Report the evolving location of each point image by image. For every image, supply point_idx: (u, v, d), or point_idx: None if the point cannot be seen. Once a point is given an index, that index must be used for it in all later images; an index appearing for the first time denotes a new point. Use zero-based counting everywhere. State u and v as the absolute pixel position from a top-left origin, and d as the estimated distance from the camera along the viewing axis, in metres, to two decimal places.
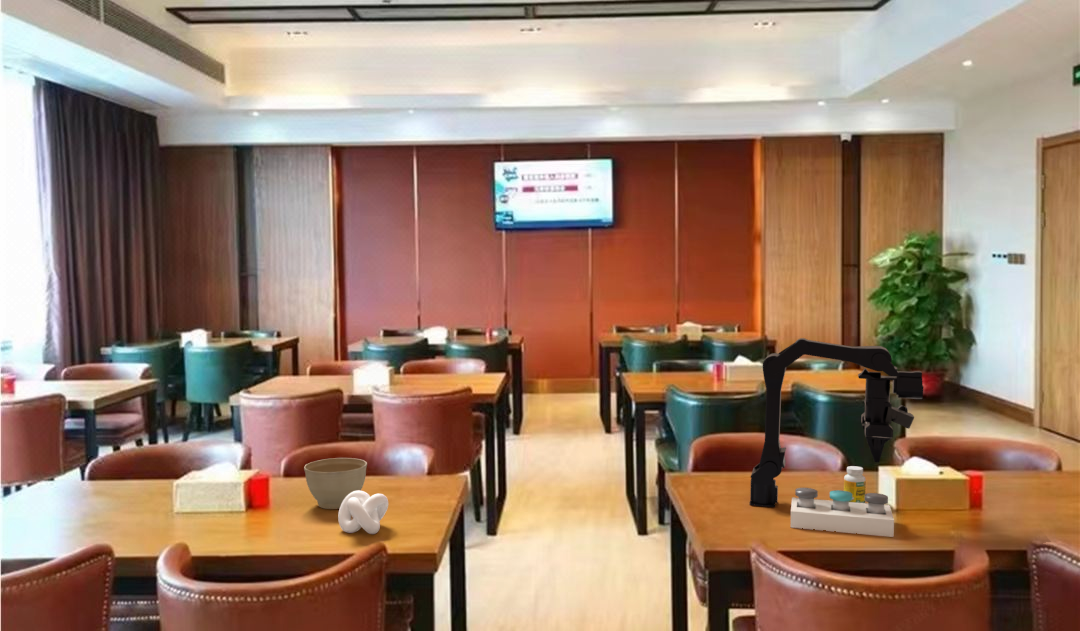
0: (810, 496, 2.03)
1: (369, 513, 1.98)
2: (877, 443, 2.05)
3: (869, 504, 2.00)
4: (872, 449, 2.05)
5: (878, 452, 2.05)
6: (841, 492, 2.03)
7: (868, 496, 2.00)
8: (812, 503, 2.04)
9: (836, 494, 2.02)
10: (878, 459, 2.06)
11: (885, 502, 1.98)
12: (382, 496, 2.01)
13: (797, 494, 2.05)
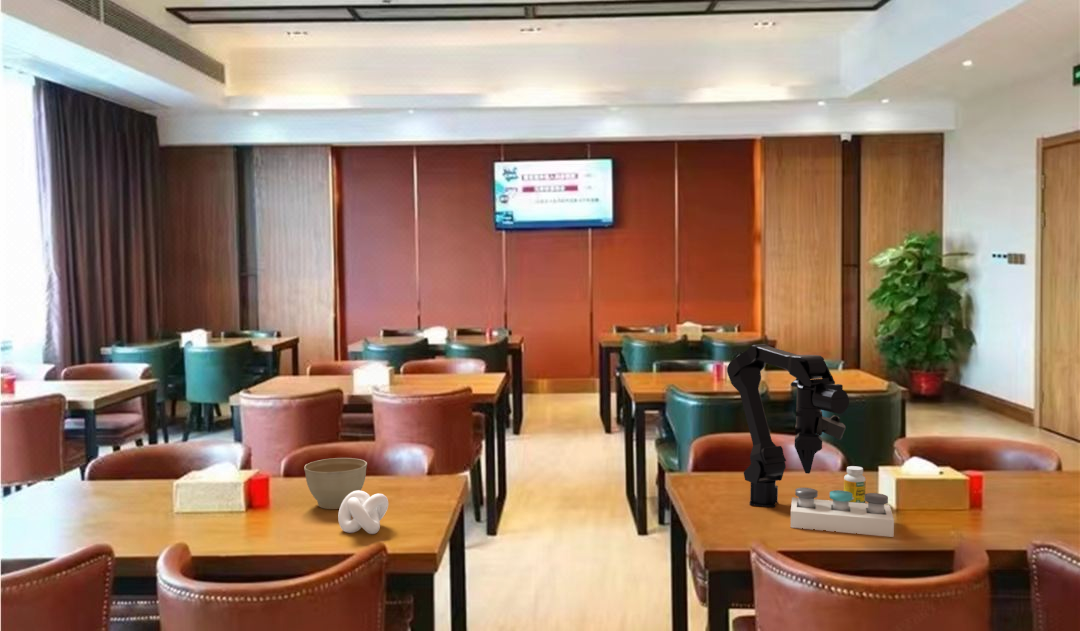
0: (810, 496, 2.03)
1: (369, 513, 1.98)
2: (807, 454, 2.00)
3: (869, 504, 2.00)
4: (802, 460, 2.00)
5: (808, 463, 2.00)
6: (841, 492, 2.03)
7: (868, 496, 2.00)
8: (812, 503, 2.04)
9: (836, 494, 2.02)
10: (809, 470, 2.01)
11: (885, 502, 1.98)
12: (382, 496, 2.01)
13: (797, 494, 2.05)
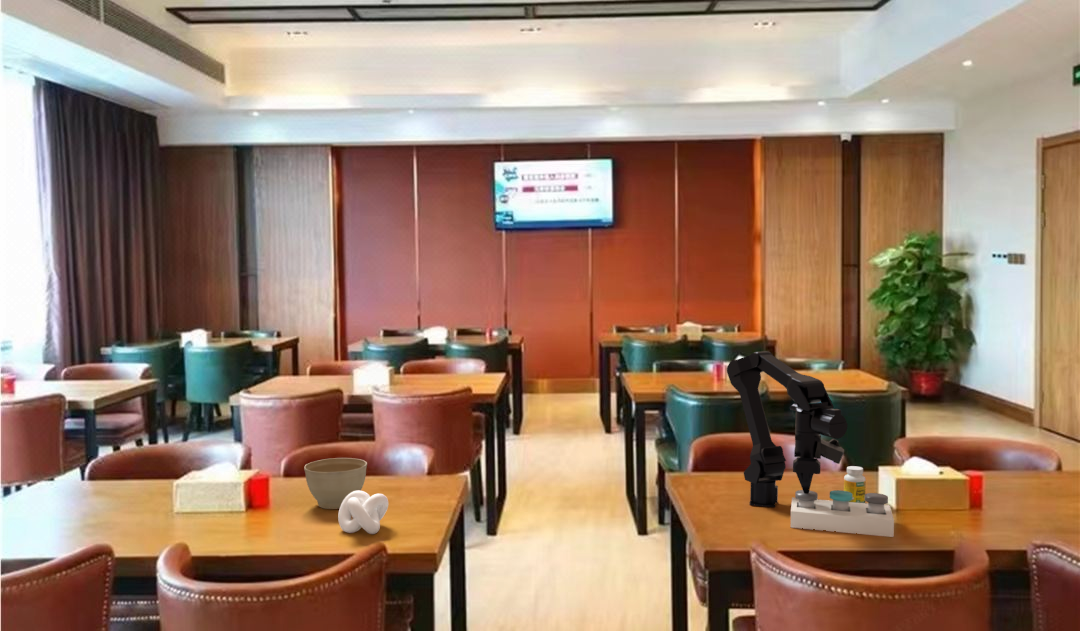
0: (810, 498, 2.03)
1: (369, 513, 1.98)
2: (806, 474, 2.04)
3: (869, 504, 2.00)
4: (801, 480, 2.04)
5: (807, 483, 2.04)
6: (841, 492, 2.03)
7: (868, 496, 2.00)
8: (812, 505, 2.04)
9: (836, 494, 2.02)
10: (807, 490, 2.05)
11: (885, 502, 1.98)
12: (382, 496, 2.01)
13: (797, 496, 2.05)
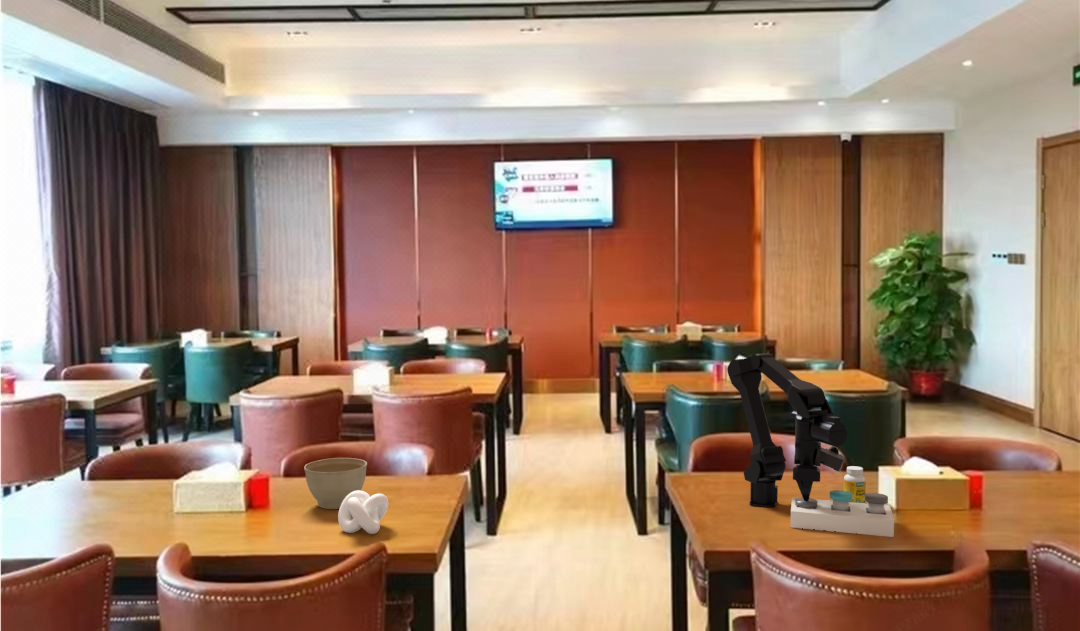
0: (810, 506, 2.03)
1: (369, 513, 1.98)
2: (806, 482, 2.04)
3: (869, 504, 2.00)
4: (801, 488, 2.04)
5: (807, 491, 2.04)
6: (841, 492, 2.03)
7: (868, 496, 2.00)
8: None
9: (836, 494, 2.02)
10: (807, 498, 2.05)
11: (885, 502, 1.98)
12: (382, 496, 2.01)
13: (797, 504, 2.05)
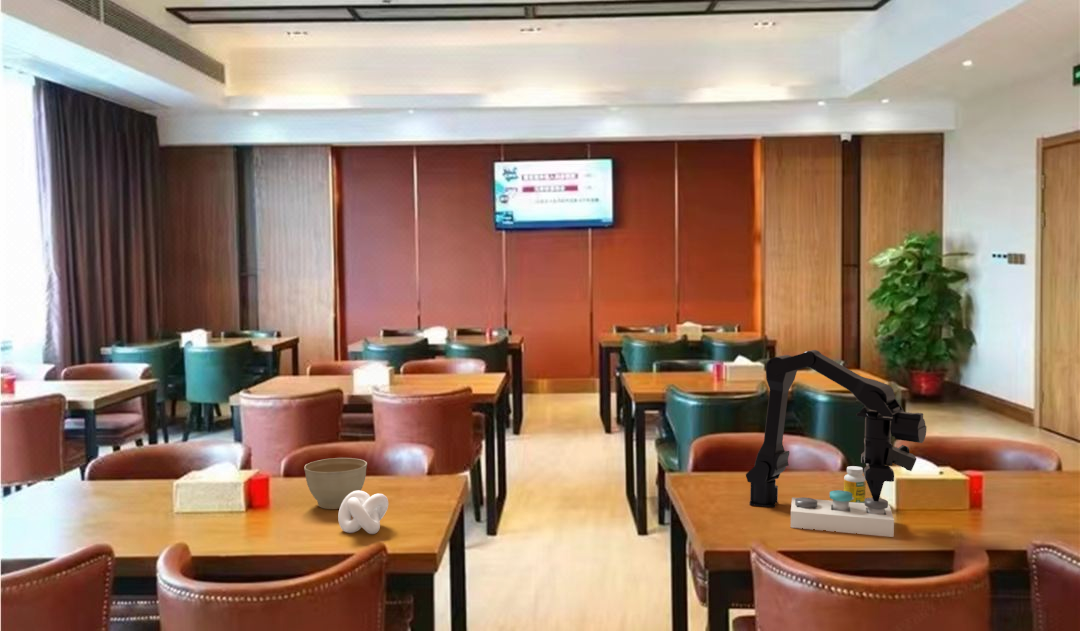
0: (810, 506, 2.03)
1: (369, 513, 1.98)
2: (876, 482, 1.99)
3: (869, 509, 2.00)
4: (871, 488, 1.99)
5: (877, 491, 1.99)
6: (841, 492, 2.03)
7: (868, 501, 2.00)
8: None
9: (836, 494, 2.02)
10: (877, 498, 2.00)
11: (885, 507, 1.98)
12: (382, 496, 2.01)
13: (797, 504, 2.05)
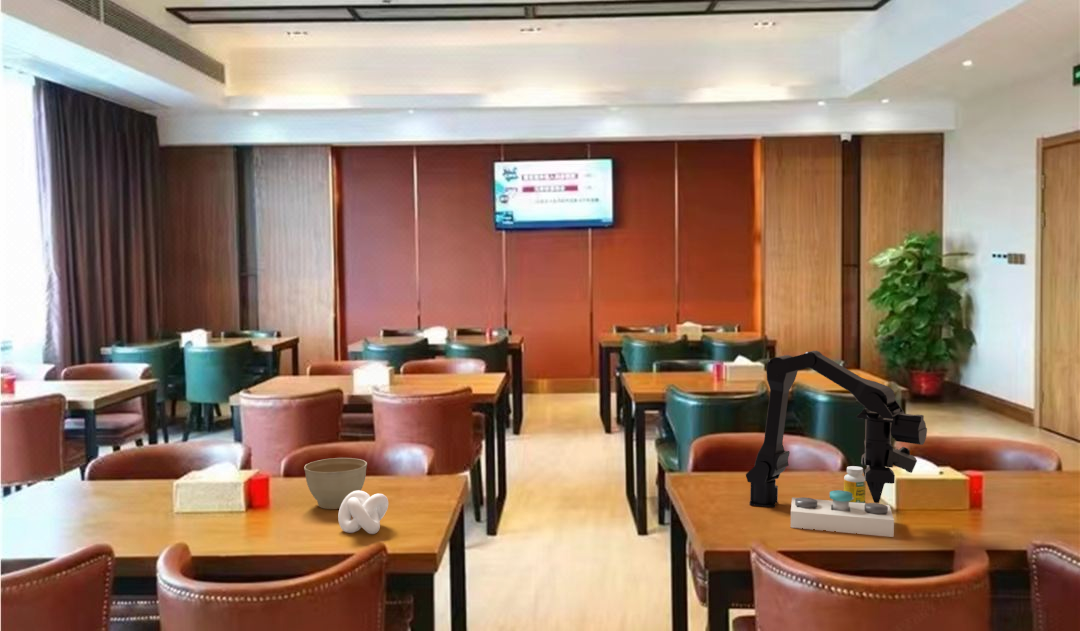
0: (810, 506, 2.03)
1: (369, 513, 1.98)
2: (877, 483, 1.99)
3: None
4: (871, 489, 1.99)
5: (878, 493, 1.99)
6: (841, 492, 2.03)
7: (868, 506, 2.00)
8: None
9: (836, 494, 2.02)
10: (878, 500, 2.00)
11: (885, 512, 1.98)
12: (382, 496, 2.01)
13: (797, 504, 2.05)
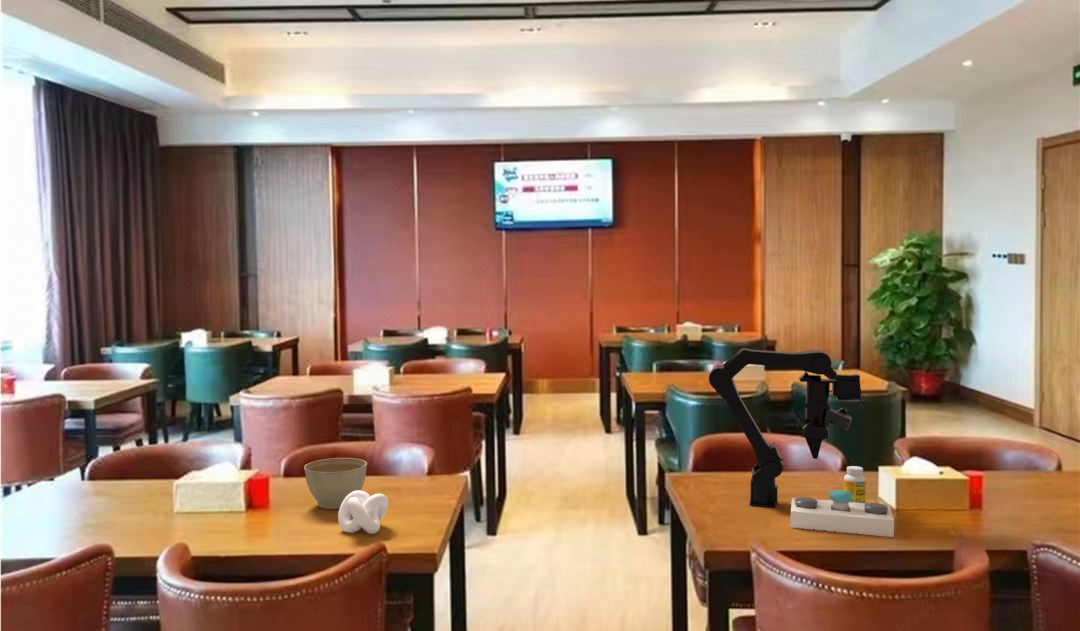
0: (810, 506, 2.03)
1: (369, 513, 1.98)
2: (815, 440, 2.15)
3: None
4: (810, 446, 2.15)
5: (816, 449, 2.15)
6: (841, 492, 2.03)
7: (868, 506, 2.00)
8: None
9: (836, 494, 2.02)
10: (816, 456, 2.16)
11: (885, 512, 1.98)
12: (382, 496, 2.01)
13: (797, 504, 2.05)
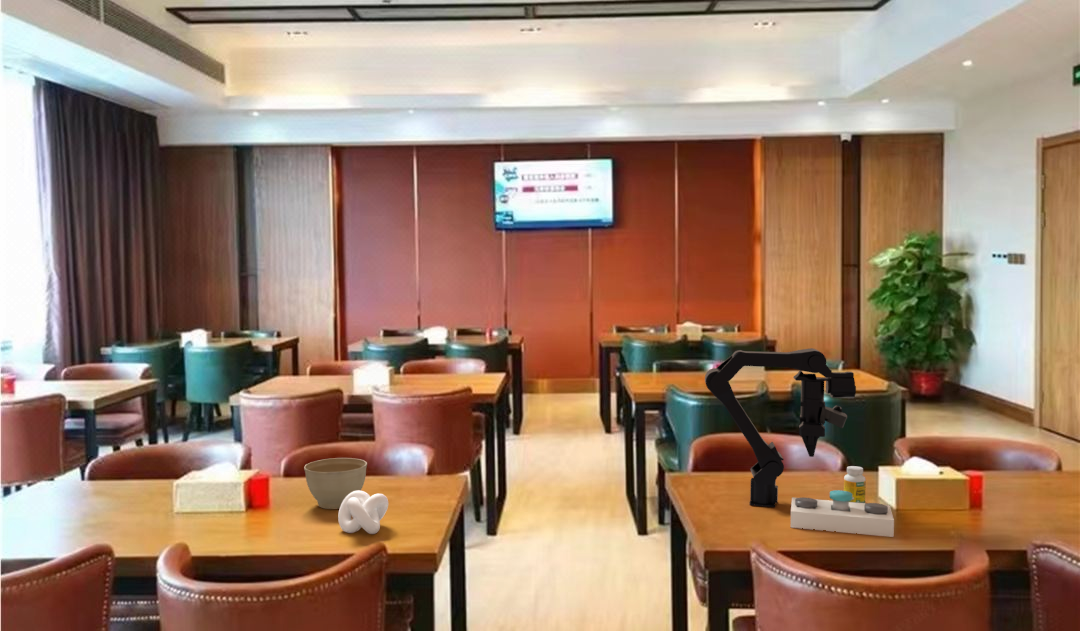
0: (810, 506, 2.03)
1: (369, 513, 1.98)
2: (811, 438, 2.16)
3: None
4: (806, 444, 2.17)
5: (812, 447, 2.16)
6: (841, 492, 2.03)
7: (868, 506, 2.00)
8: None
9: (836, 494, 2.02)
10: (812, 454, 2.17)
11: (885, 512, 1.98)
12: (382, 496, 2.01)
13: (797, 504, 2.05)
